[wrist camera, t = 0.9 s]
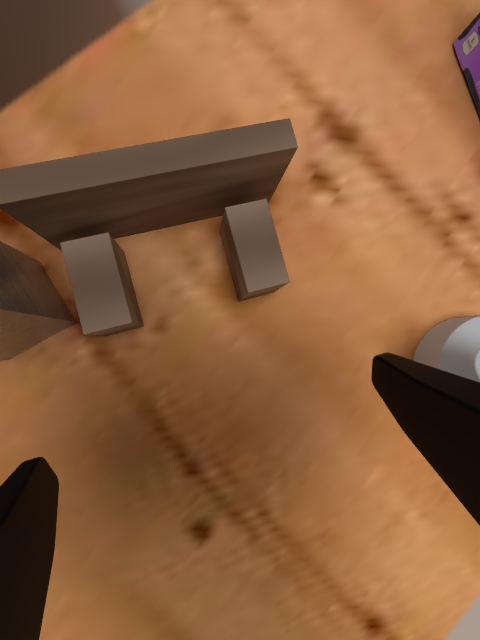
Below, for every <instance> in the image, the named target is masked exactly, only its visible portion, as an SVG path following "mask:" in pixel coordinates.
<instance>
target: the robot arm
mask: <svg viewBox="0 0 480 640" xmlns="http://www.w3.org/2000/svg"><path fill="white" fill-rule="evenodd" d="M372 383H373V385H374V387H375V389H376V390H377V392H378V393H379V395H380V396H381V398H382V399H383V401H384V402H385V404H386V406H387V407H388V409H389V410H390V412H391V413H392V415H393V416H394V418H395V419H396V421H397V422H398V424H399V425H400V427H401V428H402V430H403V431H404V432H405V434H406V435H407V436H408V438H409V439H410V440H411V441H412V443H413V444H414V445H415V446H416V447H417V449H418V450H419V451H420V452H421V454H422V455H423V456H424V457H425V459H426V460H427V461H428V462H429V464H430V465H431V466H432V467H433V469H434V470H435V471H436V472H437V473H438V475H439V476H440V477H441V478H442V480H443V481H444V482H445V483H446V485H447V486H448V487H449V488H450V490H451V491H452V492H453V493H454V494H455V496H456V497H457V498H458V499H459V501H460V502H461V503H462V504H463V506H464V507H465V508H466V509H467V511H468V512H469V513H470V514H471V516H472V517H473V518H474V519H475V520H476V522H477V523H478V524H479V525H480V382H477V381H474V380H471V379H468V378H465V377H462V376H459V375H456V374H453V373H450V372H447V371H444V370H440V369H437V368H434V367H431V366H428V365H425V364H422V363H419V362H416V361H413V360H410V359H407V358H404V357H401V356H398V355H395V354H392V353H383V354H379V355H376V356H375V357H374V358H373V361H372ZM58 492H59V482H58V478H57V476H56V474H55V473H54V472H53V470H52V469H51V467H50V466H49V464H48V463H47V461H46V460H45V459H44V458H43V457H37V458H33V459H30V460H27V461H24V462H23V463H21V464H20V465H19V466H18V468H17V469H16V470H15V471H14V472H13V473H12V474H11V475H10V476H9V477H8V478H7V480H6V481H5V482H4V483H3V484H2V485H1V486H0V640H39V637H40V631H41V625H42V619H43V614H44V608H45V602H46V597H47V591H48V585H49V579H50V574H51V568H52V562H53V556H54V548H55V537H56V522H57V507H58Z"/></svg>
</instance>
